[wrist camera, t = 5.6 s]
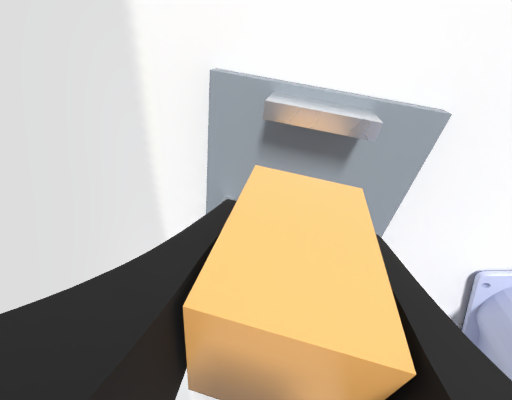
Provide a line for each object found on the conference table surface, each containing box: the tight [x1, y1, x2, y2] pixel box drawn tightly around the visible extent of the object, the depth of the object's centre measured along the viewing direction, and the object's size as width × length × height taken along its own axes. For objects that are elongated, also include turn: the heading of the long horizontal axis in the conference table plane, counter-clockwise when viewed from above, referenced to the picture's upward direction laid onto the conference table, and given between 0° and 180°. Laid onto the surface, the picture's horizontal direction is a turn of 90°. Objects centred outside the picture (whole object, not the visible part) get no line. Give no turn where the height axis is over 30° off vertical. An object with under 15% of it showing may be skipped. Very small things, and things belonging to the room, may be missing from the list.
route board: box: [206, 69, 452, 237], centre depth 18 cm, size 21×12×1 cm, turn 172°
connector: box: [183, 165, 416, 400], centre depth 8 cm, size 4×4×6 cm
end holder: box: [262, 92, 383, 142], centre depth 13 cm, size 7×5×2 cm
